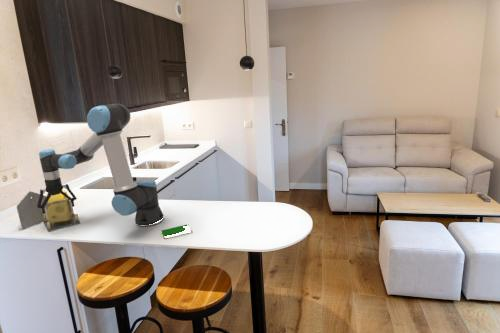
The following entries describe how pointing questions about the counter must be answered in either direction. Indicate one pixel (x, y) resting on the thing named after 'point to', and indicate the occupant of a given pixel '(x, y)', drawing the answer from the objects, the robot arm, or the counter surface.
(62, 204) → the cheese
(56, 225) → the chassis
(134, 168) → the counter surface
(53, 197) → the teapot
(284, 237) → the counter surface
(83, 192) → the counter surface
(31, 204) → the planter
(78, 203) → the counter surface
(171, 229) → the dish sponge
